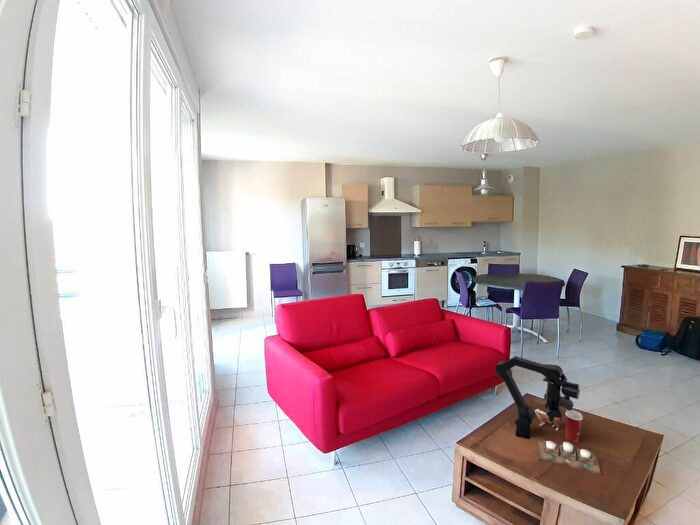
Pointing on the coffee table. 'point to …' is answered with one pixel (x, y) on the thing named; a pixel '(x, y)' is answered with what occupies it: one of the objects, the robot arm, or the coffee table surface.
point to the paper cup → (573, 425)
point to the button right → (585, 453)
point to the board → (568, 458)
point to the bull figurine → (547, 418)
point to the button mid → (568, 447)
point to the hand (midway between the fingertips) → (551, 421)
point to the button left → (550, 445)
